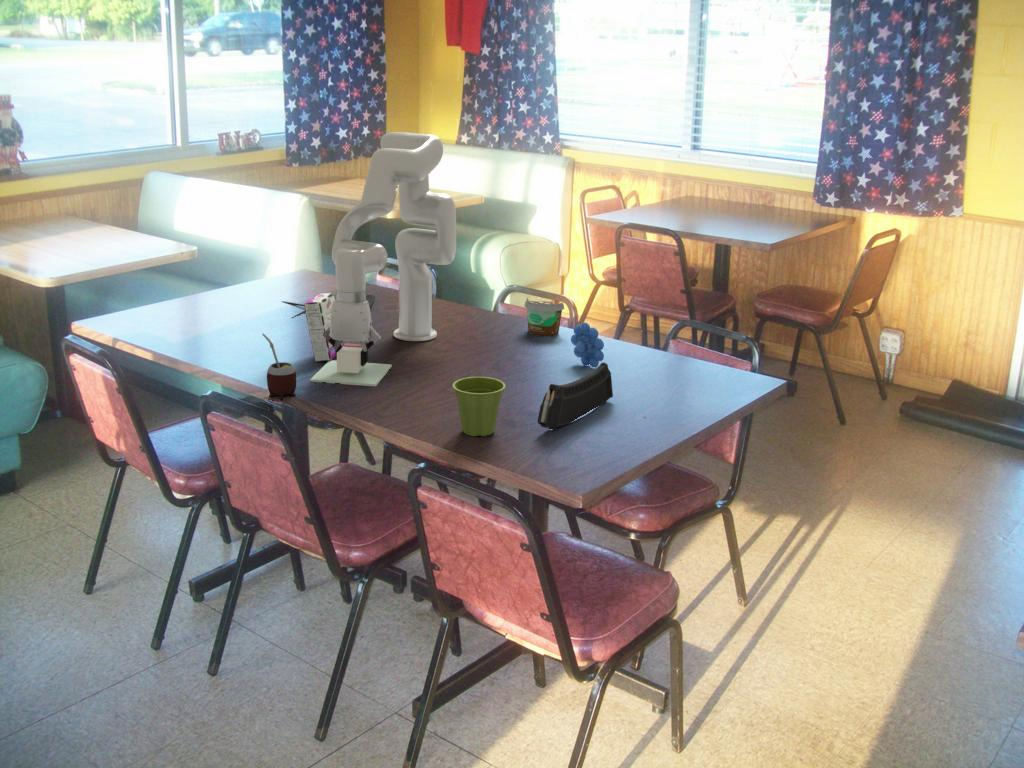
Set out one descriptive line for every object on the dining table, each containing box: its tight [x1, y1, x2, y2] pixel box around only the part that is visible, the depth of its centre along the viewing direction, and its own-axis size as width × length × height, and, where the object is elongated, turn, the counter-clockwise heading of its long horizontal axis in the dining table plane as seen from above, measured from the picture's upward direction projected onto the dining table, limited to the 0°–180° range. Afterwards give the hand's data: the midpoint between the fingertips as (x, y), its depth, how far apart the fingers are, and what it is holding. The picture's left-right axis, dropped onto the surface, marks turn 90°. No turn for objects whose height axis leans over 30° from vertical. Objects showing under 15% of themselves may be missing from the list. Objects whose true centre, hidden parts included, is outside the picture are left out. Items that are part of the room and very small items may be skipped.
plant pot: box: [452, 376, 506, 437], centre depth 245 cm, size 12×12×11 cm
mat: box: [309, 359, 393, 387], centre depth 284 cm, size 17×17×1 cm
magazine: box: [537, 362, 614, 430], centre depth 257 cm, size 17×3×30 cm
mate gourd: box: [261, 333, 297, 402], centre depth 263 cm, size 8×8×15 cm
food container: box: [523, 297, 565, 337], centre depth 324 cm, size 12×6×10 cm, turn 68°
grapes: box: [570, 321, 605, 368], centre depth 295 cm, size 12×7×12 cm, turn 44°
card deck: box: [336, 342, 368, 373], centre depth 282 cm, size 6×8×5 cm, turn 172°
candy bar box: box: [303, 292, 344, 362], centre depth 295 cm, size 11×5×16 cm, turn 169°
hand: (352, 363), depth 283 cm, fingers closed on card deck, 5 cm apart
